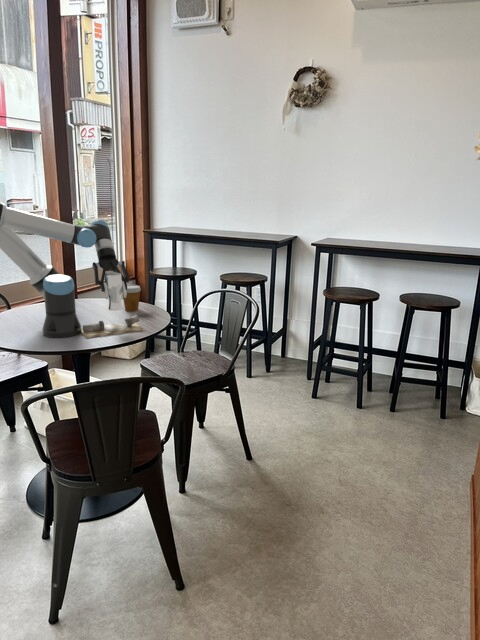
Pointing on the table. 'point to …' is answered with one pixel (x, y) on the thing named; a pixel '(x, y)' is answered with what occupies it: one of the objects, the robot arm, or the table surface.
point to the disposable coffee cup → (132, 298)
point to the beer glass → (114, 290)
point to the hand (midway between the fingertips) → (116, 296)
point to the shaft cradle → (110, 328)
